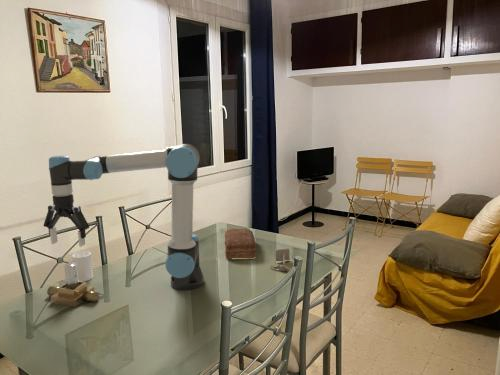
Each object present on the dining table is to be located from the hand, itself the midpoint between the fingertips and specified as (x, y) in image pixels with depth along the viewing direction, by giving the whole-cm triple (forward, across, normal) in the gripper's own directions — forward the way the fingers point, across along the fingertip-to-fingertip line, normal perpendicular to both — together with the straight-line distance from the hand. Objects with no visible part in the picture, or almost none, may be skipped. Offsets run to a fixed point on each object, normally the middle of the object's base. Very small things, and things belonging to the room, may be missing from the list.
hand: (68, 244), depth 159 cm
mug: (+24, +10, -17) cm, 31 cm away
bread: (+25, -52, -72) cm, 92 cm away
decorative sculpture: (+25, -79, -55) cm, 100 cm away
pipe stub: (+21, 0, 0) cm, 21 cm away
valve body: (+24, 0, 0) cm, 24 cm away
